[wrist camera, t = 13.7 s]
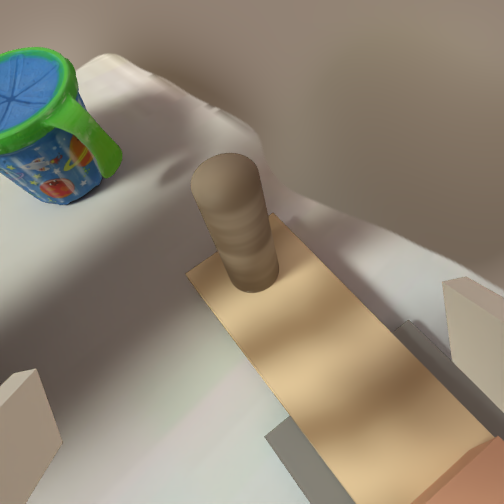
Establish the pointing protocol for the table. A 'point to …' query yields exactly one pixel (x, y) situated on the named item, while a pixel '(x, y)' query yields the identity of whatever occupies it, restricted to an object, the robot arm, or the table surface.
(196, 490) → the table surface
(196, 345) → the table surface
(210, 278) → the tan wooden stand
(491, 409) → the lane board
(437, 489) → the cube
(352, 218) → the table surface
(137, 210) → the table surface
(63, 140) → the snack cup
